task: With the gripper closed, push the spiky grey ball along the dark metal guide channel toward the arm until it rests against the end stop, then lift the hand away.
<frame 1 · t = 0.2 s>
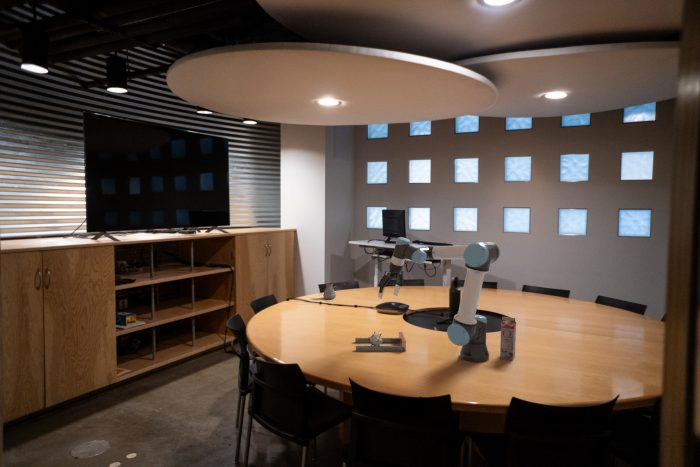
hand: (387, 296, 260), 28 cm above the table, tool tilted 20°, fingers open, 13 cm apart
coffee pot: (334, 299, 384), on the table
spiky grey ball: (376, 346, 255), on the table
guide channel: (379, 346, 255), on the table
juice carton: (507, 357, 238), on the table
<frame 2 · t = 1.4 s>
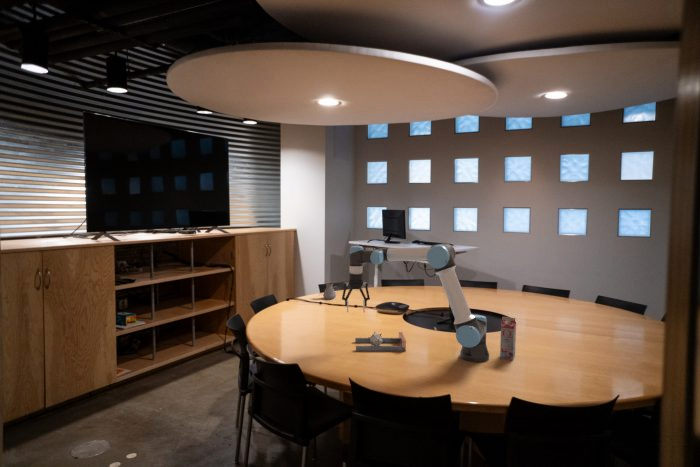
hand: (355, 311, 254), 20 cm above the table, tool pointing down, fingers open, 9 cm apart
nothing on the table moved.
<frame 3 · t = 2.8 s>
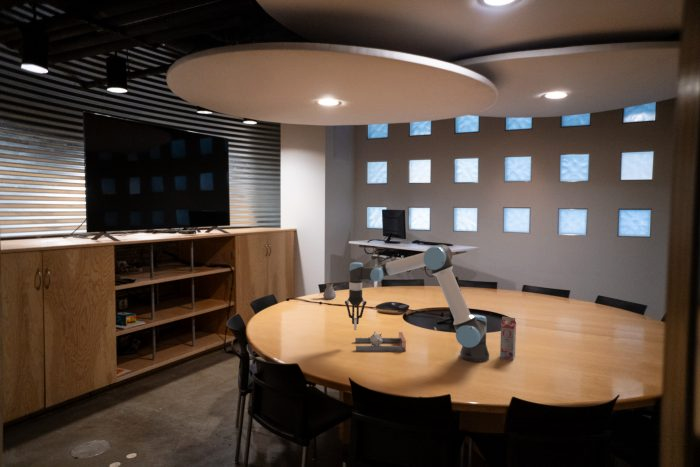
hand: (355, 329, 255), 10 cm above the table, tool pointing down, fingers closed
nothing on the table moved.
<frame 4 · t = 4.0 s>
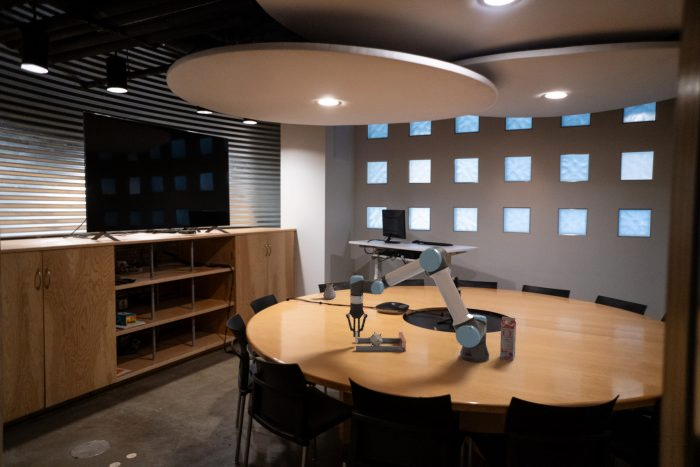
hand: (356, 342, 255), 2 cm above the table, tool pointing down, fingers closed
nothing on the table moved.
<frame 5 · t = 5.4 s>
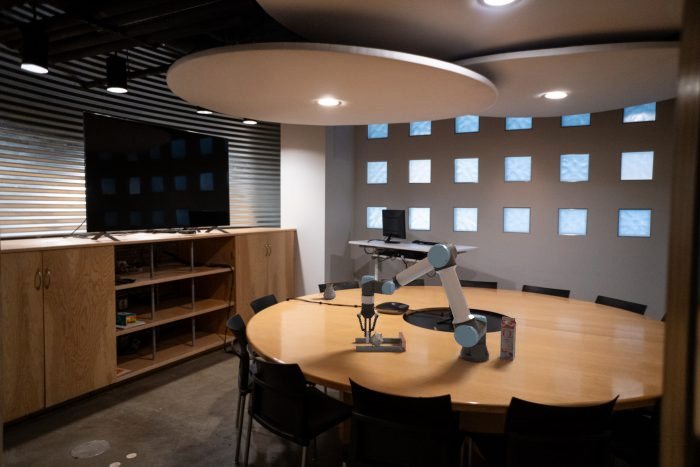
hand: (367, 342, 255), 2 cm above the table, tool pointing down, fingers closed
spiky grey ball: (376, 346, 255), on the table, touching gripper
everything else where it was.
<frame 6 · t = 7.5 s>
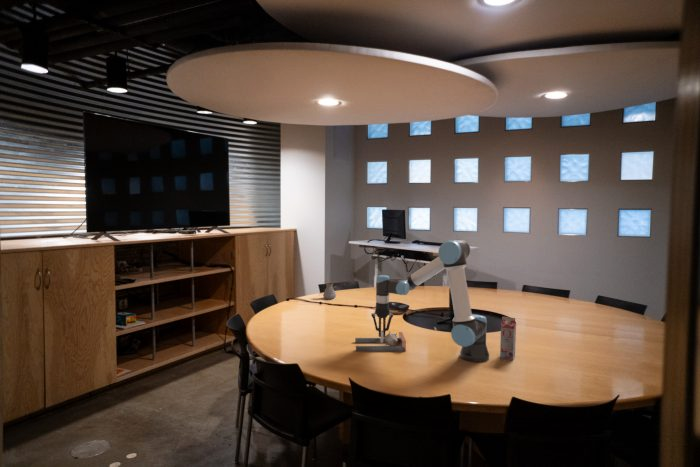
hand: (381, 342, 255), 3 cm above the table, tool pointing down, fingers closed
spiky grey ball: (390, 346, 256), on the table, touching gripper
everything else where it was.
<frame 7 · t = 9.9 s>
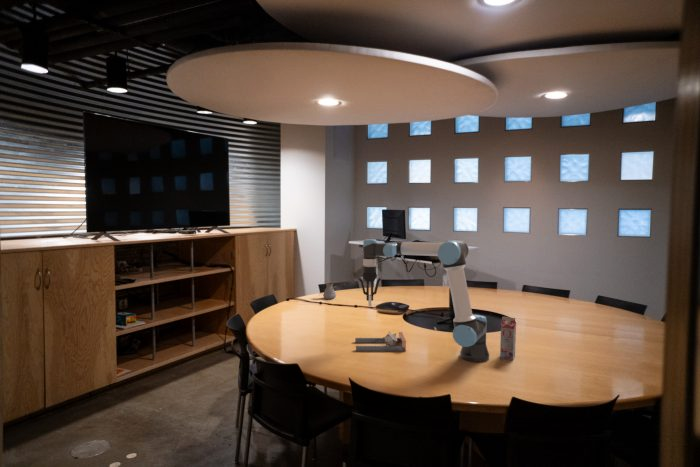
hand: (369, 306, 256), 23 cm above the table, tool pointing down, fingers closed
spiky grey ball: (390, 346, 256), on the table
everything else where it was.
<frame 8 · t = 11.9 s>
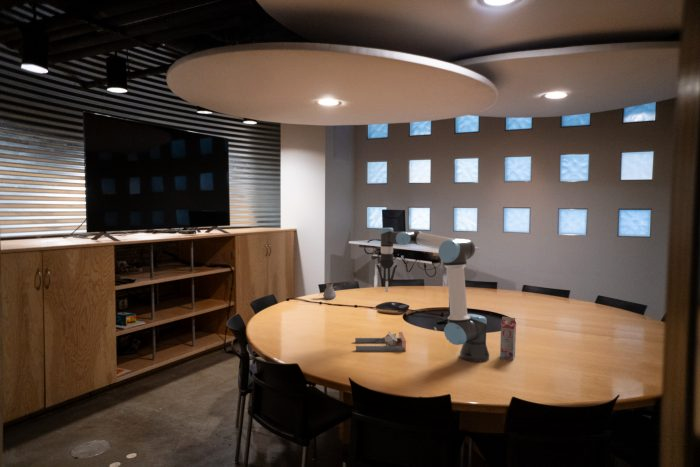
hand: (386, 291, 267), 29 cm above the table, tool pointing down, fingers closed
nothing on the table moved.
at the end: spiky grey ball inside the target area (0.6 cm from its centre), on the table; spiky grey ball tilted 2°; spiky grey ball moved 8.5 cm from its start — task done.
